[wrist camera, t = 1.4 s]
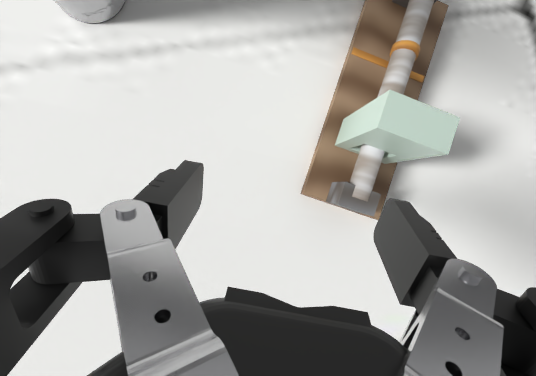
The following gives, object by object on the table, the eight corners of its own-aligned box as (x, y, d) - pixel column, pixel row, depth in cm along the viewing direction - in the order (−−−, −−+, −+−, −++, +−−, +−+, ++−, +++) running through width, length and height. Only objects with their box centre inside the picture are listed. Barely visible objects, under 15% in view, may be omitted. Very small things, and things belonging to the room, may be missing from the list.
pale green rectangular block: (384, 164, 39) (448, 154, 28) (334, 145, 39) (377, 127, 27) (393, 138, 40) (460, 117, 28) (343, 119, 39) (390, 89, 27)
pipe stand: (373, 218, 41) (401, 225, 34) (300, 193, 40) (314, 195, 33) (440, 11, 42) (482, -24, 35) (371, -19, 41) (399, -63, 34)
